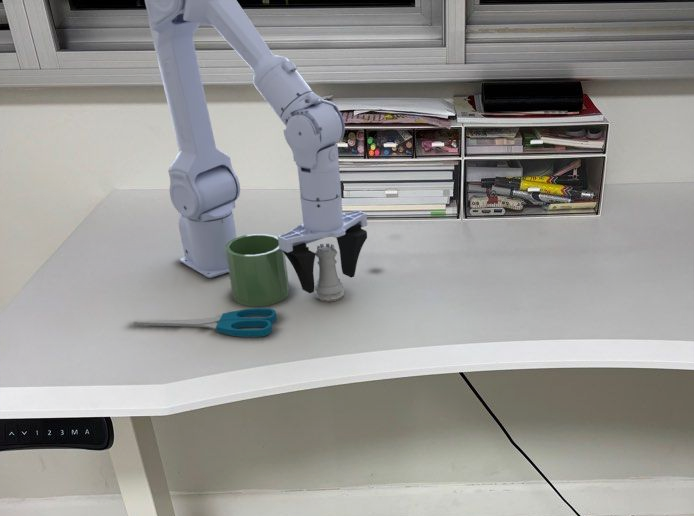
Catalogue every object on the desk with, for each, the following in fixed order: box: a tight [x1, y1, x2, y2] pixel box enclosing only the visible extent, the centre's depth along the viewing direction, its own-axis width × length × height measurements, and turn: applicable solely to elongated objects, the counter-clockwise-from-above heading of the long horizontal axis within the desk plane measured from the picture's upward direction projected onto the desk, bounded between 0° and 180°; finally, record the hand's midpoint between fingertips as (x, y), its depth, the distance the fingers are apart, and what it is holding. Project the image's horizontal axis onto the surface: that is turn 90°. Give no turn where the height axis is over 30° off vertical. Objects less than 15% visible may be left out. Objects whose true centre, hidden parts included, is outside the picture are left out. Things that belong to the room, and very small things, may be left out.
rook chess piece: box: [314, 242, 345, 303], centre depth 118 cm, size 4×4×8 cm
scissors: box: [133, 307, 278, 338], centre depth 112 cm, size 7×1×20 cm
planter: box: [225, 233, 290, 307], centre depth 119 cm, size 8×8×8 cm
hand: (328, 282), depth 119 cm, fingers open, 7 cm apart
